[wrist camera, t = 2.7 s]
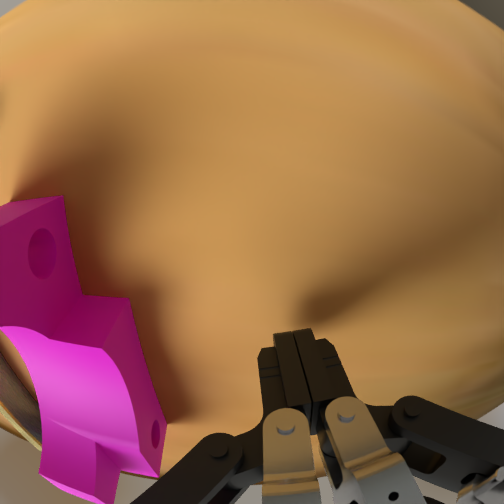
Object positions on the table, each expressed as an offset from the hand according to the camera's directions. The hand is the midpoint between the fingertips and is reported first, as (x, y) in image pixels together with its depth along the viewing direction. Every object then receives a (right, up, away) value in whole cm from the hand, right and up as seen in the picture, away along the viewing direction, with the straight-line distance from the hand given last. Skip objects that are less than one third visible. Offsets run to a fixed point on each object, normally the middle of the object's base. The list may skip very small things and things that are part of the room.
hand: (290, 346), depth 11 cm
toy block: (-10, -1, +2) cm, 10 cm away
